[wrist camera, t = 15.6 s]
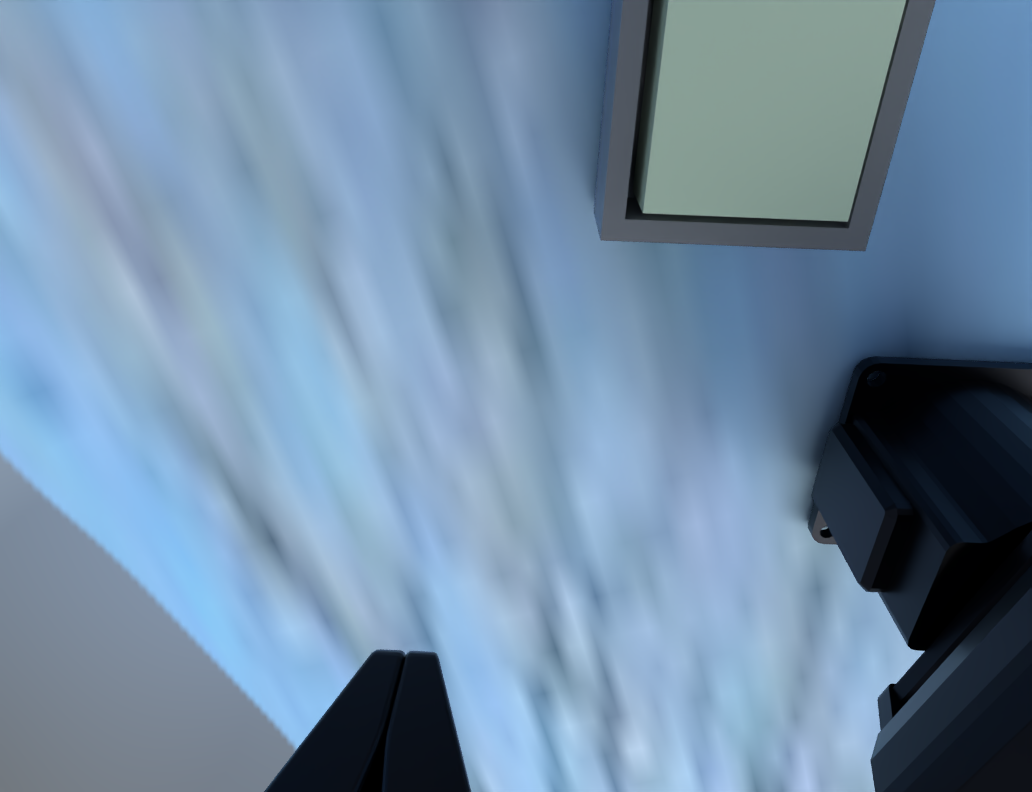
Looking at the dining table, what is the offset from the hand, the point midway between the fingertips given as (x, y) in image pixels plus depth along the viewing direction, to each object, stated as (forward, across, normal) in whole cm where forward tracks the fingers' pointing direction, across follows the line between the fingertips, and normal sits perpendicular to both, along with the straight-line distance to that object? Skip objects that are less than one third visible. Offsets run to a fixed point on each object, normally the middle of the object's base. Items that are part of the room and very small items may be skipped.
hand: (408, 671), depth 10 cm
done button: (+11, -6, -6) cm, 14 cm away
